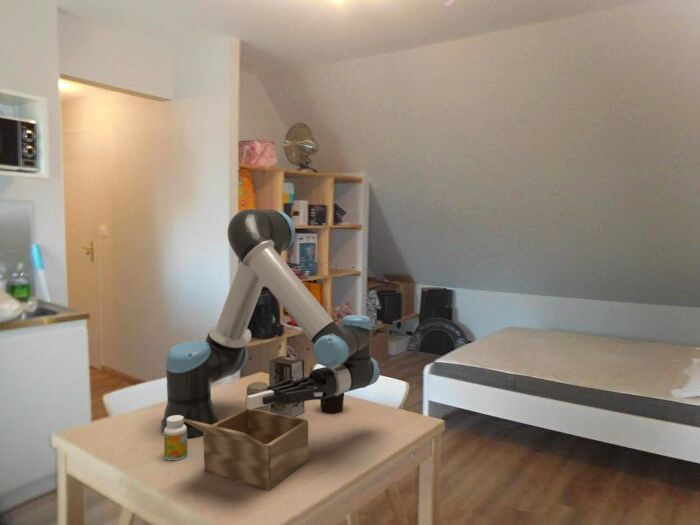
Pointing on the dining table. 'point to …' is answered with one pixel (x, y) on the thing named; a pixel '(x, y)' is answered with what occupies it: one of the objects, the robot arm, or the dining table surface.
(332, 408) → the coffee mug
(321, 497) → the dining table surface
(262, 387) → the carving
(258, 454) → the wooden open box
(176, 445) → the supplement bottle
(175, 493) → the dining table surface
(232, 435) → the flap
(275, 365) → the coffee box
